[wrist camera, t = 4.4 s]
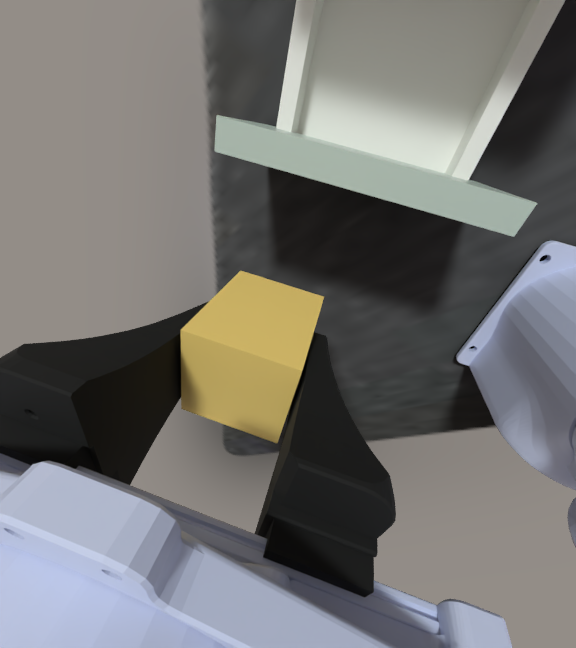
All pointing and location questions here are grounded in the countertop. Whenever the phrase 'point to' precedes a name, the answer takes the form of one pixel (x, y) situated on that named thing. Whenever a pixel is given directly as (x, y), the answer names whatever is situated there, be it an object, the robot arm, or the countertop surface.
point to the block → (248, 354)
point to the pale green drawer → (400, 100)
